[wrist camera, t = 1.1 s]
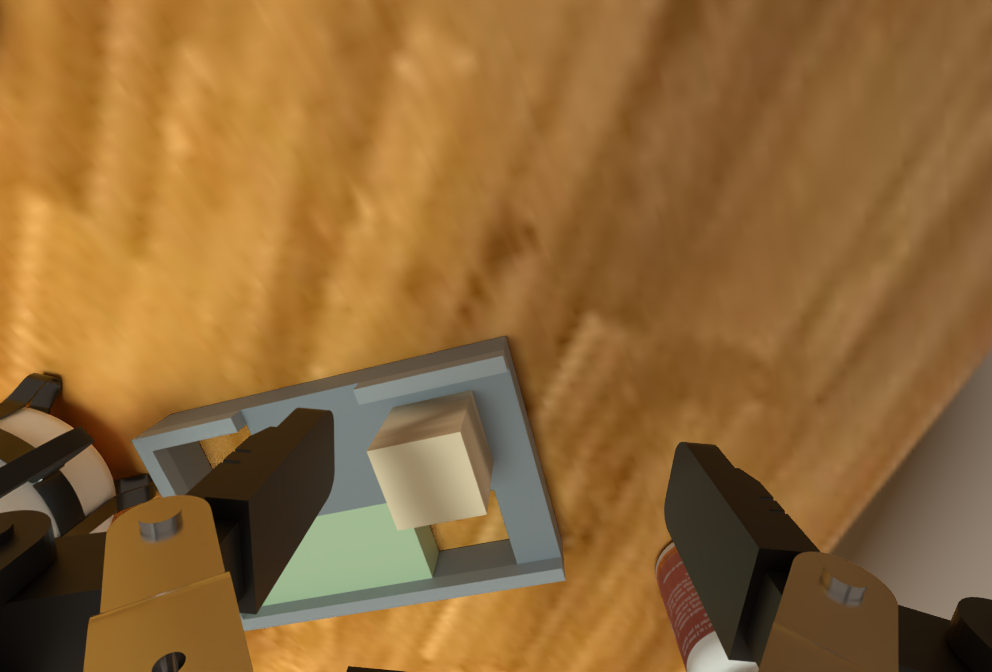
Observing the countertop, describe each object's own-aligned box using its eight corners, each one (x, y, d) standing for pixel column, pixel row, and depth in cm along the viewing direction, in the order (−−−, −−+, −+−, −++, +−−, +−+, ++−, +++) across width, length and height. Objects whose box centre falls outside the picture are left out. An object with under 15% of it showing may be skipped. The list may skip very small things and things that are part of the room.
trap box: (505, 336, 30) (502, 355, 27) (562, 541, 35) (565, 580, 31) (170, 414, 33) (131, 440, 30) (262, 592, 38) (236, 632, 35)
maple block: (471, 389, 29) (460, 431, 24) (493, 461, 30) (487, 514, 25) (392, 407, 29) (366, 451, 25) (417, 476, 31) (397, 530, 26)
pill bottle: (637, 579, 35) (683, 750, 25) (681, 517, 33) (751, 673, 23) (712, 610, 36) (789, 791, 25) (760, 550, 34) (864, 718, 23)
